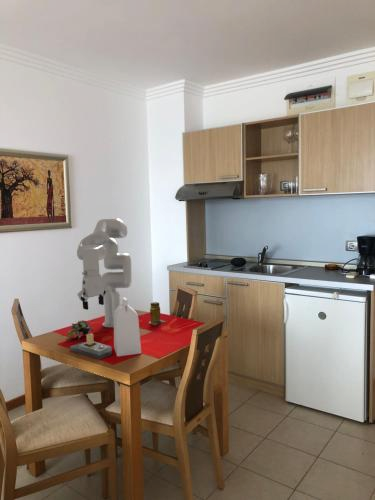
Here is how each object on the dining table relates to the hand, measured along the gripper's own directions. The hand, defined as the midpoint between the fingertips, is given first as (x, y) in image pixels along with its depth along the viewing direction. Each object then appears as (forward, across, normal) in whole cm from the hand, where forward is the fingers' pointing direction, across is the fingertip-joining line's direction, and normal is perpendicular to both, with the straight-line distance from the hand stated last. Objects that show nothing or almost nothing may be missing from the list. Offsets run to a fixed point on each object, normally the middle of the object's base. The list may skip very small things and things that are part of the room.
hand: (93, 306), depth 205 cm
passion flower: (+22, +6, +20) cm, 31 cm away
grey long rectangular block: (+21, -5, -2) cm, 22 cm away
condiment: (+23, +50, +5) cm, 55 cm away
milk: (+22, +6, -16) cm, 27 cm away
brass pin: (+21, -5, -2) cm, 22 cm away
